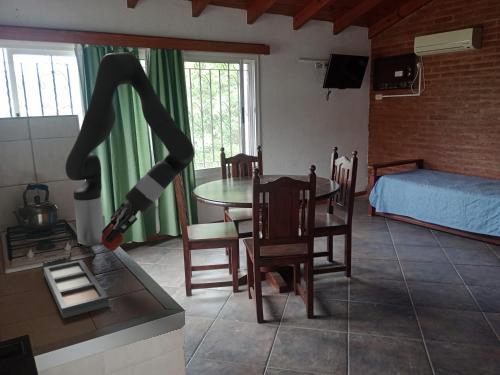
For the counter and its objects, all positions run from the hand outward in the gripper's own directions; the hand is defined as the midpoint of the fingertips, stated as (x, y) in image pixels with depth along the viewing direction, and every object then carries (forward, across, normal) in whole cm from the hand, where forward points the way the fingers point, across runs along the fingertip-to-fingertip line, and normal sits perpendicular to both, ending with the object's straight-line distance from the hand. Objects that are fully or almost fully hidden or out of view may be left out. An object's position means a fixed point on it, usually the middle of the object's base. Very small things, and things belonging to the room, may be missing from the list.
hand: (105, 237), depth 117 cm
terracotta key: (+14, +12, +3) cm, 19 cm away
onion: (+2, 0, +4) cm, 5 cm away
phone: (+19, -24, +1) cm, 31 cm away
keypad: (+16, +2, +2) cm, 16 cm away
